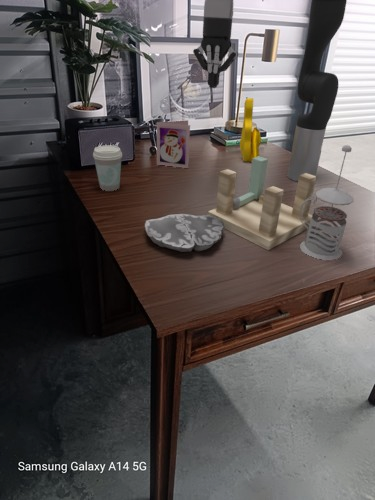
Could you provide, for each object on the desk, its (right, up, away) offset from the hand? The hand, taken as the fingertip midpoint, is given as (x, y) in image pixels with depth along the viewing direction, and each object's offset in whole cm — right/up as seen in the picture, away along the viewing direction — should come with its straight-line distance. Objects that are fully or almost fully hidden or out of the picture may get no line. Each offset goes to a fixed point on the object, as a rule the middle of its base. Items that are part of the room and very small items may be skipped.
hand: (213, 87), depth 110 cm
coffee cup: (-31, -27, +9) cm, 42 cm away
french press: (+24, -46, -17) cm, 54 cm away
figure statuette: (+16, -12, +38) cm, 42 cm away
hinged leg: (+9, -33, -2) cm, 34 cm away
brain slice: (-7, -44, -15) cm, 47 cm away
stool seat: (+12, -39, -7) cm, 41 cm away
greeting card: (-12, -15, +30) cm, 36 cm away
